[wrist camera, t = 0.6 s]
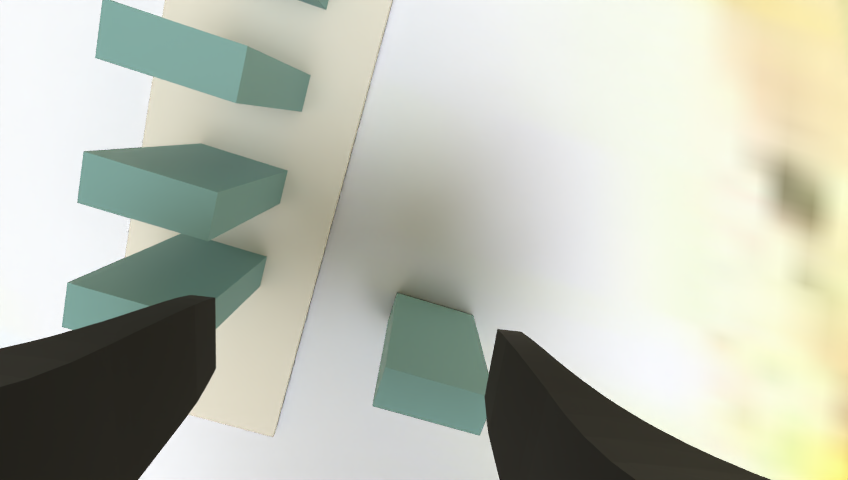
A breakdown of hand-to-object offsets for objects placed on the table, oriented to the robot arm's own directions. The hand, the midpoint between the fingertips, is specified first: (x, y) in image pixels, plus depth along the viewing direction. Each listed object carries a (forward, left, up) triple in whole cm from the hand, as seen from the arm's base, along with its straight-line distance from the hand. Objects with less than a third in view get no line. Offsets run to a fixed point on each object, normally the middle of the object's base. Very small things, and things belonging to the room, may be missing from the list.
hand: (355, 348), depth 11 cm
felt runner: (+1, +7, -10) cm, 13 cm away
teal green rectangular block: (-3, -3, -10) cm, 11 cm away
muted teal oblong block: (+6, +7, -10) cm, 14 cm away
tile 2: (-3, +7, -10) cm, 13 cm away
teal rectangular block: (+1, +7, -10) cm, 13 cm away
